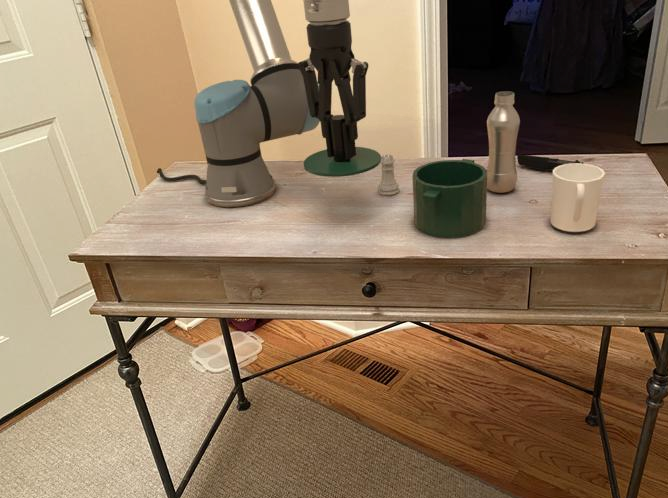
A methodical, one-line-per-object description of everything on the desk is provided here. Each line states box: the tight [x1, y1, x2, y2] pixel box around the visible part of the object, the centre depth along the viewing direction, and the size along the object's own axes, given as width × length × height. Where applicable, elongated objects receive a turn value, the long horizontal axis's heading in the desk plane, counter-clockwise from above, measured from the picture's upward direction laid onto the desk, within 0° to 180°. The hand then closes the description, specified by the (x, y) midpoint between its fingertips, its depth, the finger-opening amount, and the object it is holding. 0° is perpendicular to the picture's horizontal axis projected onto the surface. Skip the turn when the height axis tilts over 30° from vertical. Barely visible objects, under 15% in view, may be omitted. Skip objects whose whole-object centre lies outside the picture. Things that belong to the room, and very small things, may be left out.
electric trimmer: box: [516, 153, 585, 172], centre depth 136 cm, size 4×16×3 cm, turn 58°
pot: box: [412, 158, 488, 239], centre depth 115 cm, size 14×19×10 cm
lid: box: [303, 114, 382, 178], centre depth 114 cm, size 15×15×9 cm
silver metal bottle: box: [486, 91, 521, 194], centre depth 124 cm, size 6×7×20 cm
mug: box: [549, 163, 606, 235], centre depth 110 cm, size 11×9×10 cm
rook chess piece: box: [378, 154, 400, 197], centre depth 130 cm, size 4×4×8 cm
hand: (341, 155), depth 115 cm, fingers closed on lid, 3 cm apart
